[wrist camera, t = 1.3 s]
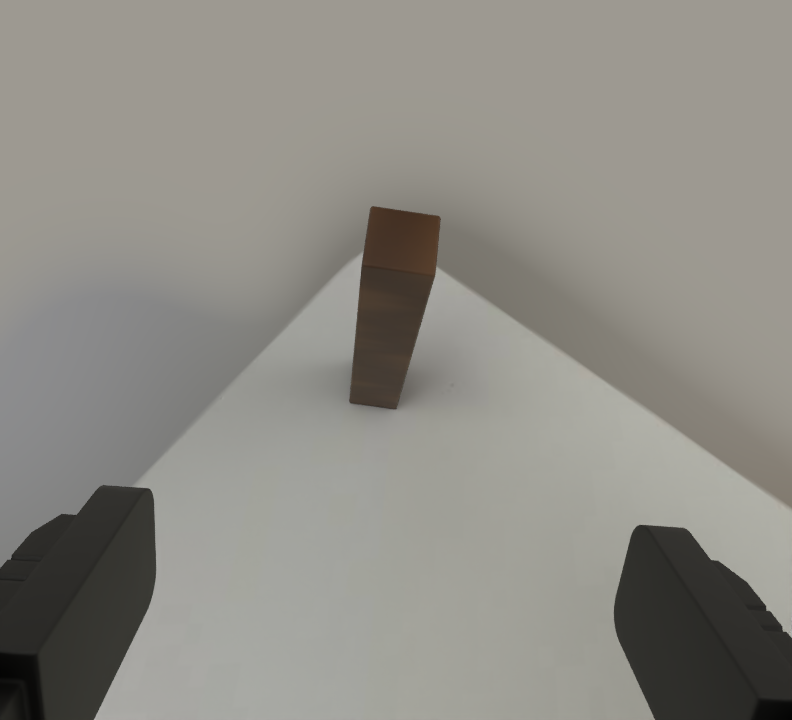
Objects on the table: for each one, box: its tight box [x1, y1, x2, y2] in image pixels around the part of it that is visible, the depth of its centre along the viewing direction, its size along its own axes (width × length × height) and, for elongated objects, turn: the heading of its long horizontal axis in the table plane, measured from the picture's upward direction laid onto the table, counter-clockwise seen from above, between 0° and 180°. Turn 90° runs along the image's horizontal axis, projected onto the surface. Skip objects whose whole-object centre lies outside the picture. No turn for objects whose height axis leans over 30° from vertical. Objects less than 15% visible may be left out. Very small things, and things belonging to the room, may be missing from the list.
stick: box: [349, 206, 441, 409], centre depth 27 cm, size 2×2×13 cm
